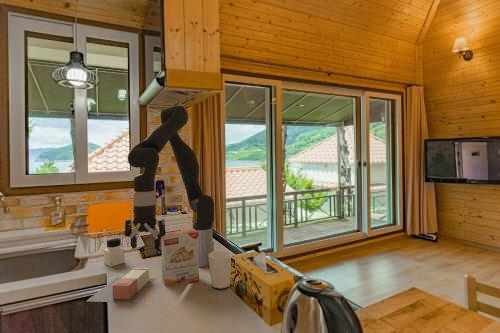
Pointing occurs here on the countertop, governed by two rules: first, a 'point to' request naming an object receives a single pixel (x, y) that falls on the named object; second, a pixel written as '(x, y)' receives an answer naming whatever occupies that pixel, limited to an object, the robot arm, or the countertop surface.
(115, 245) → the medicine bottle
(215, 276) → the cup
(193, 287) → the countertop surface
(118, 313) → the countertop surface
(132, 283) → the stub
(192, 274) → the cracker box
